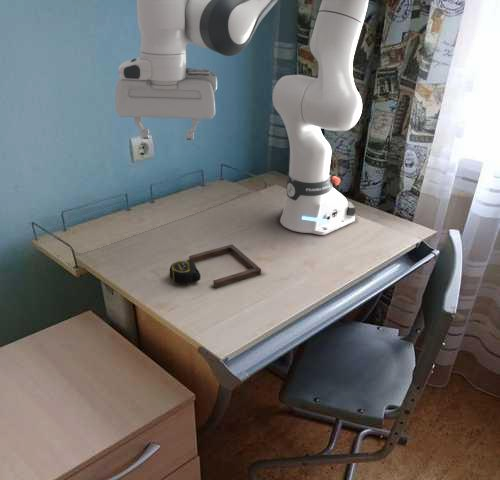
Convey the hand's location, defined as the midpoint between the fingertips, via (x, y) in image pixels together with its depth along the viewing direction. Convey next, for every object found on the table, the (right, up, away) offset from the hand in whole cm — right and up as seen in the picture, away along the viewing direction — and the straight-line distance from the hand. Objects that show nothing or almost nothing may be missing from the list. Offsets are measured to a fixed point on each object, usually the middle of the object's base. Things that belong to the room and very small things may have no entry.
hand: (167, 138), depth 109 cm
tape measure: (+2, -29, +16) cm, 33 cm away
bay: (+10, -26, +20) cm, 34 cm away
